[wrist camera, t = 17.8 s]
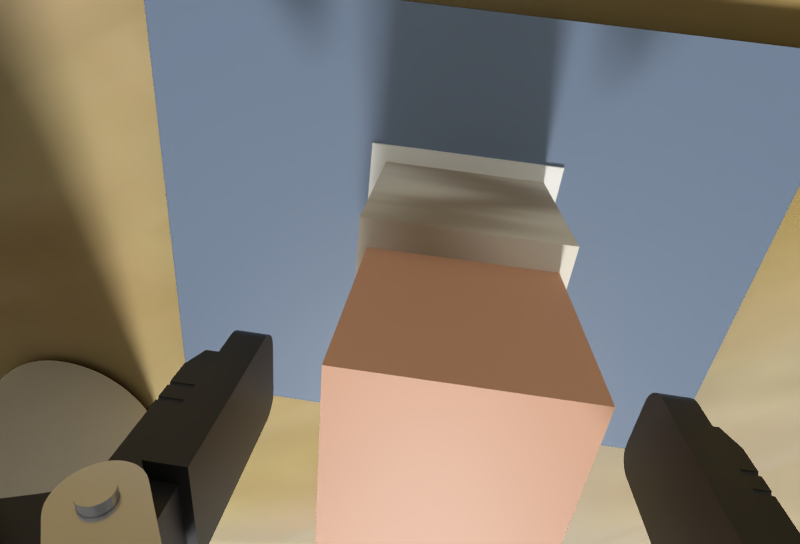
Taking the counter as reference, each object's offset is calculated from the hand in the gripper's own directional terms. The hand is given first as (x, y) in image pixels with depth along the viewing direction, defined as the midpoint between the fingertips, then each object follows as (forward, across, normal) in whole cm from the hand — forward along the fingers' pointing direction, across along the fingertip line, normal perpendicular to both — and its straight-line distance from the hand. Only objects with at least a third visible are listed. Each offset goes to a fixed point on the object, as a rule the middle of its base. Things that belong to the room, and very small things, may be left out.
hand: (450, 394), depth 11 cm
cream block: (+7, 0, 0) cm, 7 cm away
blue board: (+8, 0, 0) cm, 8 cm away
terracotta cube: (+2, 0, 0) cm, 2 cm away
